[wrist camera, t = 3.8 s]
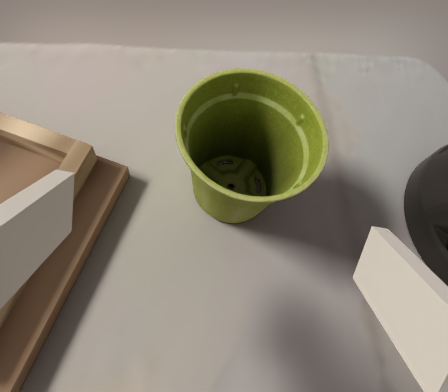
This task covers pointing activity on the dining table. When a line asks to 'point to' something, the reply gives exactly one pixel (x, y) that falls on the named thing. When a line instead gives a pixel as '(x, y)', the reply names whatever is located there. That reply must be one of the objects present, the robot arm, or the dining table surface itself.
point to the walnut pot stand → (66, 251)
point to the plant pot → (249, 141)
